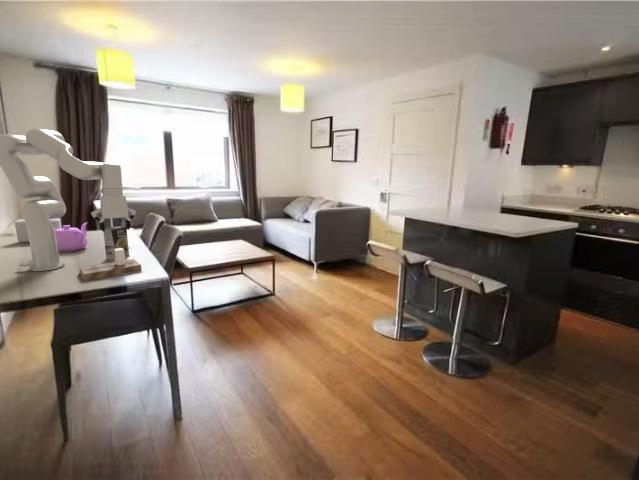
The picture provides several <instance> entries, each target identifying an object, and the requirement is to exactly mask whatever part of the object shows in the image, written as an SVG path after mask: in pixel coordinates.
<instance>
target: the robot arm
mask: <svg viewBox="0 0 639 480" xmlns="http://www.w3.org/2000/svg"><path fill="white" fill-rule="evenodd" d="M73 153H74V149H73V147H72V146H71V145H70V144H69V143H67V142H66V140H65V138H64V136H63V135H62V134H61V133H60V132H58V131H55V130H50V129H43V128H32V129H29V130H28V131H27V132H26V133H25V135H23V134H22V135H21V134H14V133H13V134H11V133H4V134H0V168H1V169H2V171H3V172H4V175H5V177H6V178H7V180H8V182H9V184H10V186H11V188H12V189H13V191H14V192H15V194H16V195H17V196H18V197H19V198H22V199H33V200H29V201H27V202H24V204H22V206H21V208H20V209H21V210H20V211H21V212H20V213H21V216H22V217H23V220H25V222H26V226H27V230H28V235H29V241H30V242H29V245H30V253H31V259H30V260H28V261H20V262H19V266H20V268H21V267H26V268H27V267H29V270H30V271H31V272H45V271H46V272H47V271H53V270H58V269H60V268H63V267H64V266H65V263H64V262H63V261H61V260H60V255H59V254H60V253H59V251H58V247H57V240H56V234H55V229H54V226H53V225H52V224H51V222H50V221H49V219H60V218H61V217H63V216H65V215H66V212H67V206H66V204H65V202H64V199H63V198H62V196H61V193H60V192H59V190H58V188H57V186H56V184H55V183H54V182H53V181H52V180H51V179H50V178H48V177H46V176H42V175H41V176H39V175H37V176H35V175H34V174H33V173H32V172H31V169H30V168H29V166H28V164H26V162H25V161H23V160H22V159H21V158H20V157H19V156H40V155H46V156H48V157H50V158H51V159H53V160H54V161H56V162H57V164H58V166H59V167H60V168H61V169H62V170H63V171H64V172H66V173H68V174H70V175H71V176H73V177H75V178H77V179H79V180H83V181H84V180H85V181H92V180H95V181H96V180H101V188H100V189H98V193H101V195H100V205H99V206H100V208H98V209H95V210H94V211H92V212H90V214H91V216H92V217H93V218H94V220H96V221H97V222H98V223H99V230H101V231H102V232H103V233H104V231H105V226H106V225H105V220H106V219H123V218H124V219H125V227H126V229H127V231H128V230H130V228H131V226H132V225H131V221H132V220H133V219H134V217H135V215H136V213H137V211H136V210H135V209H133V208H130V207H128V202H127V198H126V195H125V194H124V192H123V179H122V167H121V165H120V164H118V163H112V162H111V163H109V162H107V163H105V162H99V161H83V160H80V159H79V158H77V157H75V156H74V155H73ZM35 198H39V199H35ZM129 212H131V214H130V215H129ZM97 214H100V217H98V216H97Z"/></svg>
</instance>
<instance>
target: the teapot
mask: <svg viewBox="0 0 639 480" xmlns="http://www.w3.org/2000/svg"><path fill="white" fill-rule="evenodd" d="M87 224H88V222H87V221H86V222H84V223H83V224H81V227H80V229H79V227H71V225H70V224H67V225H66V224H65V225H62V228H61V229H55V234H56V240H57V247H58V253H60V252H63V253H65V252H67V253H71V252H73V251H79V250H82V249H85V247H87V245H88V239H87V230H86V227H87ZM70 251H71V252H70Z"/></svg>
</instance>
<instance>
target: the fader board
mask: <svg viewBox="0 0 639 480" xmlns="http://www.w3.org/2000/svg"><path fill="white" fill-rule="evenodd" d="M125 262H126V265H119V266H118V265H117V264H116V263H115V261H112V262H105V263H100V264H94V265H93V264H91V265H87V266H79V267H78V268H79V275H80V276H81V277H82V279H83V281H84V282H86V281H92V280H99V279H104V278H110V277H116V276H120V275H127V274H128V275H129V274H132V273H138V272H142V265H141V263H139V262H138V261H137V260H136V259H133V258H132V259H127V260H126V259H125Z"/></svg>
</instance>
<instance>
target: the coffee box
mask: <svg viewBox="0 0 639 480" xmlns="http://www.w3.org/2000/svg"><path fill="white" fill-rule="evenodd" d="M103 241H104V249H105V259H106V260H111V261H112V260H113V261H115V255H114V249H116V248H123V249H124V253H125V258H127V257H130V250H129V249H130V248H129V249H128V247H129V240H128V229H126V226H121V225H120V226H118V225H117V226H111V227H106V228H105V231H104V232H103Z"/></svg>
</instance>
